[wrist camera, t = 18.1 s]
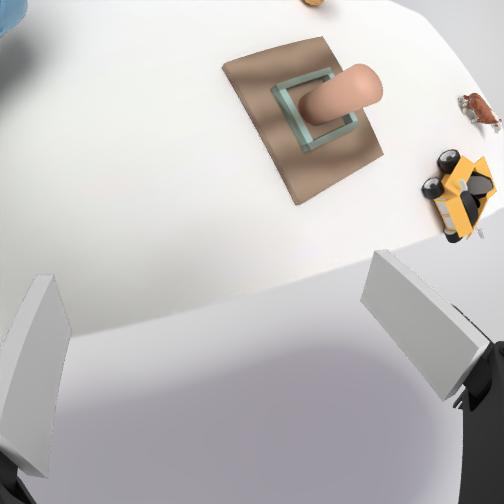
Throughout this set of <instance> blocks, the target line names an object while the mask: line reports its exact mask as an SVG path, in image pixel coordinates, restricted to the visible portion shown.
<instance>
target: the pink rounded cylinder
mask: <svg viewBox="0 0 504 504" xmlns="http://www.w3.org/2000/svg"><path fill="white" fill-rule="evenodd" d="M382 95H383V87H382V83H381V81H380V79H379V77H378V75H377V74H376V73H375V72H374V71H373V70H372V69H371V68H370V67H368V66H366V65H364V64H355V65H353V66H352V67H350V68H348V69H346V70H345V71H343V72H341V73H340V74H338V75H336V76H335V77H333V78H331V79H330V80H328V81H326V82H325V83H323V84H321V85H320V86H318V87H316V88H315V89H313V90H312V91H310V92H308V93H307V94H305V95H304V96H302V97H301V99H300V100H299V104H298V107H299V112H300V114H301V116H302V118H303V119H304V120H305V121H306V122H308V123H309V124H311V125H315V126H318V125H322V124H324V123H327V122H329V121H331V120H334V119H336V118H339V117H341V116H344V115H346V114H349V113H351V112H354V111H356V110H359V109H361V108H364V107H366V106H369V105H372V104H374V103H377V102H379V101H380V100H381V98H382Z"/></svg>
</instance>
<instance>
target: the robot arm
mask: <svg viewBox="0 0 504 504" xmlns="http://www.w3.org/2000/svg"><path fill="white" fill-rule="evenodd" d="M27 8H28V1H27V0H0V39H1V37H2V36H3V35H4V34H5V33H7V32H8V31H9V30H10V29H12V28H13V27H14V26H16V25H17V24H18V23H19V22H20V21H21V20H22V19H23V18H24V16H25V14H26V12H27ZM360 301H361V302H362V304H363V305H364V306H365V307H366V308H367V309H368V311H369V312H370V313H371V314H372V315H373V316H374V318H375V319H376V320H377V321H378V322H379V323H380V325H381V326H382V327H383V328H384V329H385V331H386V332H387V333H388V334H389V335H390V337H391V338H392V339H393V340H394V341H395V342H396V344H397V345H398V346H399V347H400V349H401V350H402V351H403V352H404V353H405V355H406V356H407V357H408V358H409V360H410V361H411V362H412V363H413V365H414V366H415V367H416V368H417V369H418V371H419V372H420V373H421V375H422V376H423V377H424V378H425V380H426V381H427V382H428V383H429V385H430V386H431V387H432V389H433V390H434V391H435V392H436V394H437V395H438V396H439V397H440V399H441V400H442V401H444V400H446V399H447V398H450V397H451V396H453V395H455V393H456V392H457V391H458V389H459V388H460V387H461V385H462V384H463V385H464V386H465V387H466V388H465V390H464V391H463V392H462V394H461V395H460V396H459V398H458V399H457V400H456V401H455V403H454V405H453V408H456V406H457V405H458V404H459V403H460V402H461V401H462V403H461V405H460V406H459V408H458V409H462V410H463V456H462V473H461V484H460V493H459V502H458V504H504V341H498V342H496V344H494V343H493V342H492V341H491V340H490V339H489V338H488V337H487V336H486V335H485V334H484V333H483V332H482V331H481V330H479V328H478V327H477V326H476V325H474V324H473V323H472V322H470V320H469V319H468V318H467V317H466V316H464V315H463V313H462V312H461V311H460V310H459V309H457V308H456V307H455V306H454V305H452V304H450V303H449V302H448V301H447V300H446V299H445V298H443V297H442V296H441V295H440V294H439V293H438V292H437V291H436V290H434V289H433V288H432V287H431V286H430V285H429V284H428V283H427V282H425V281H424V280H423V279H422V278H421V277H420V276H419V275H417V274H416V273H415V272H414V271H413V270H411V269H410V268H409V267H408V266H407V265H406V264H404V263H403V262H402V261H400V259H398V258H397V257H396V256H395V255H393V254H392V253H391V252H390V251H389V250H387V249H386V250H375V251H374V254H373V258H372V262H371V266H370V269H369V273H368V276H367V280H366V284H365V287H364V290H363V294H362V297H361V300H360ZM71 332H72V330H71V327H70V324H69V322H68V319H67V316H66V313H65V310H64V307H63V304H62V301H61V298H60V294H59V291H58V288H57V284H56V281H55V277H54V274H48V275H37V276H36V277H35V279H34V281H33V283H32V285H31V287H30V289H29V290H28V292H27V294H26V296H25V298H24V300H23V302H22V304H21V306H20V308H19V310H18V312H17V314H16V316H15V319H14V321H13V323H12V325H11V327H10V330H9V332H8V334H7V336H6V339H5V341H4V343H3V346H2V348H1V351H0V504H36V502H35V501H34V499H33V498H32V496H31V495H30V493H29V492H28V490H27V489H26V487H25V485H24V484H23V482H22V481H21V479H20V478H19V477H18V476H17V470H18V468H19V469H21V470H22V471H23V472H24V473H26V474H27V475H30V476H36V477H41V478H48V474H49V459H50V447H51V438H52V429H53V422H54V414H55V408H56V402H57V396H58V391H59V385H60V380H61V375H62V370H63V365H64V361H65V356H66V352H67V348H68V344H69V340H70V336H71Z"/></svg>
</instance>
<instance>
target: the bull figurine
mask: <svg viewBox="0 0 504 504" xmlns="http://www.w3.org/2000/svg"><path fill="white" fill-rule="evenodd" d="M463 99H466V100H468V101H467V102H465V103H464V104H462V106H465V108H464V109H462V113H463V114H465V112H466V110H468V109H472V111H474V112H475V114H476V115H474V119H472V120H471V123H473V122H475V121H476V122H481V123H485V124H490V125H491V126H492V127H493V128H494V129H495V133H498V132H499V130H500V129H501V127H502V125H503V124H502V123H501V119H499V118H498V116H497V115H496V114H495V113H494V112H493V110H492V109H490V108H489V106H488V105H487V104H486V103H485V101H484V100H483V99H482V98H481V96H480V95H478V94H477V93H472V94H471V95H469V96H466V95H464V96H462V97H459V101H460V102H461V101H462V100H463ZM477 117H479V119H476V118H477Z"/></svg>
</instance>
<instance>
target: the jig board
mask: <svg viewBox="0 0 504 504" xmlns="http://www.w3.org/2000/svg"><path fill="white" fill-rule="evenodd" d="M222 69H223V71H224V72H225V74H226V76H227V77H228V79H229V81H230V83H231V84H232V86H233V88H234V90H235V91H236V93H237V95H238V97H239V98H240V100H241V102H242V104H243V105H244V107H245V109H246V111H247V113H248V114H249V116H250V118H251V120H252V122H253V124H254V125H255V127H256V129H257V131H258V133H259V135H260V137H261V138H262V140H263V142H264V144H265V146H266V148H267V150H268V152H269V153H270V155H271V157H272V159H273V161H274V163H275V165H276V167H277V169H278V171H279V173H280V175H281V177H282V179H283V181H284V183H285V185H286V187H287V189H288V191H289V193H290V195H291V197H292V199H293V201H294V203H295V205H299V204H302V203H304V202H305V201H307V200H309V199H310V198H312V197H314V196H315V195H317V194H319V193H320V192H322V191H324V190H325V189H327V188H329V187H330V186H332V185H334V184H335V183H337V182H339V181H340V180H342V179H344V178H345V177H347V176H349V175H350V174H352V173H354V172H355V171H357V170H359V169H360V168H362V167H364V166H366V165H367V164H369V163H371V162H372V161H374V160H376V159H377V158H379V157H381V156H383V155H384V154H383V152H382V149H381V147H380V145H379V142H378V140H377V138H376V135H375V133H374V131H373V129H372V127H371V125H370V122H369V120H368V118H367V116H366V114H365V112H364V110H363V108H361V109H359V110H356V111H354V112H351V113H349V114H346V115H344V116H341V117H339V118H336V119H334V120H331V121H329V122H327V123H324V124H322V125H318V126H315V125H311V124H309V123H308V122H306V121H305V120H304V119H303V118H302V116H301V114H300V112H299V107H298V104H299V100H300V99H301V97H302V96H304V95H305V94H307V93H308V92H310V91H312V90H313V89H315V88H316V87H318V86H320V85H321V84H323V83H325V82H326V81H328V80H330V79H331V78H333V77H335V76H336V75H338V74H340V73H341V72H343V70H342V68H341V66H340V65H339V63H338V61H337V59H336V58H335V56H334V54H333V53H332V51H331V49H330V48H329V46H328V44H327V43H326V41H325V40H324V38H323V36H321V37H316V38H312V39H307V40H303V41H298V42H294V43H290V44H286V45H282V46H279V47H275V48H271V49H268V50H264V51H261V52H257V53H254V54H251V55H248V56H245V57H241V58H238V59H235V60H232V61H229V62H227V63H224V65H223V67H222Z"/></svg>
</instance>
